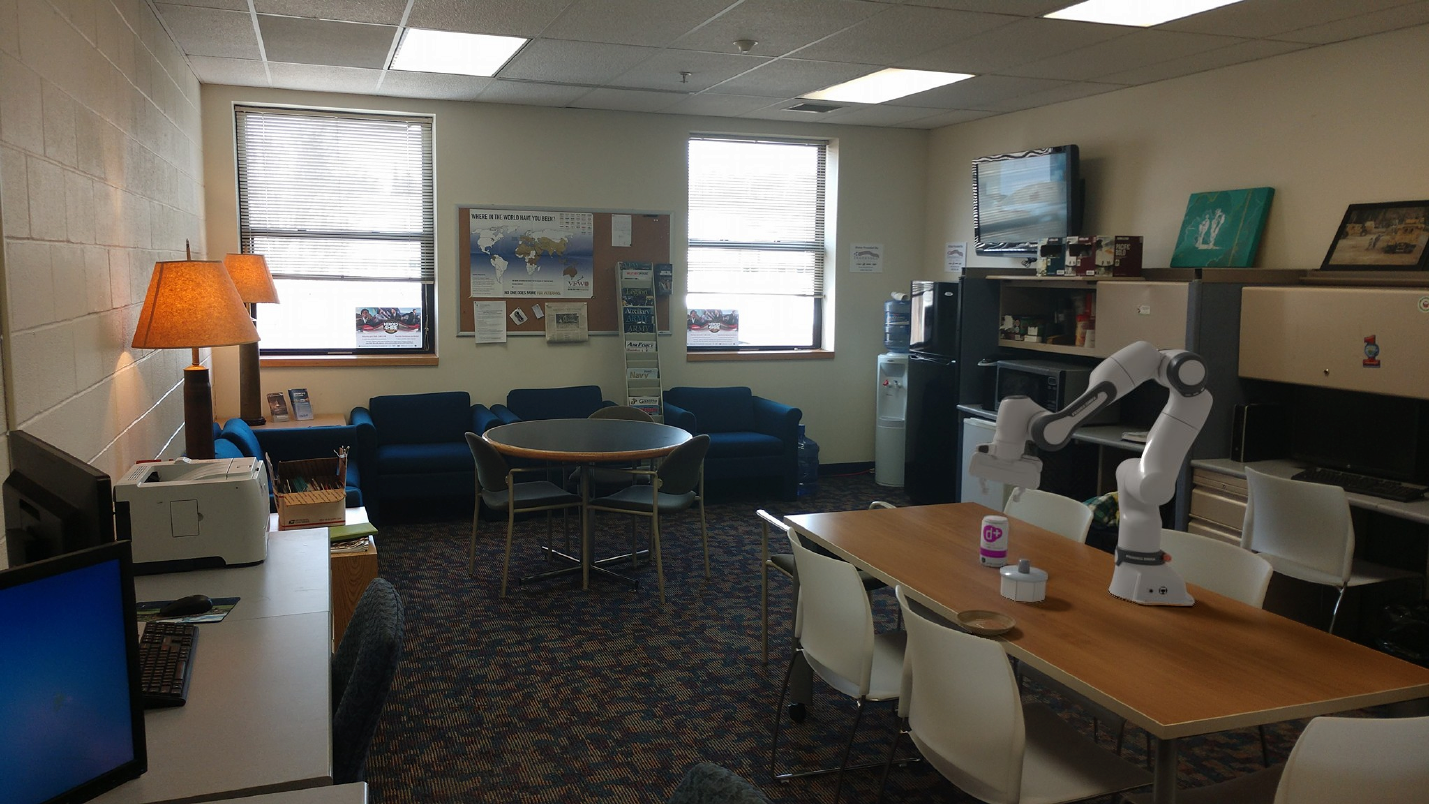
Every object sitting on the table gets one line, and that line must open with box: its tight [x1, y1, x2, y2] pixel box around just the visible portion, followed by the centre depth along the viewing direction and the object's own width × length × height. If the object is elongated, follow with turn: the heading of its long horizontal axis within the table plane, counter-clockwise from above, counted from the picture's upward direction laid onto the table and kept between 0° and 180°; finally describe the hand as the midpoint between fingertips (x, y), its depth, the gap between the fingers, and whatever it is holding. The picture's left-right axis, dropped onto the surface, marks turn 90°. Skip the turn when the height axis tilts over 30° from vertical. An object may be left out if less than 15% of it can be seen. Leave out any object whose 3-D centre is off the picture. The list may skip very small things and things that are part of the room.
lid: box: [999, 557, 1049, 583], centre depth 273 cm, size 13×13×4 cm
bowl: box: [1000, 575, 1047, 602], centre depth 273 cm, size 12×12×6 cm
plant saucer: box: [955, 609, 1016, 636], centre depth 247 cm, size 15×15×3 cm
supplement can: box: [979, 514, 1010, 568], centre depth 304 cm, size 8×8×15 cm
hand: (999, 497), depth 277 cm, fingers open, 8 cm apart
